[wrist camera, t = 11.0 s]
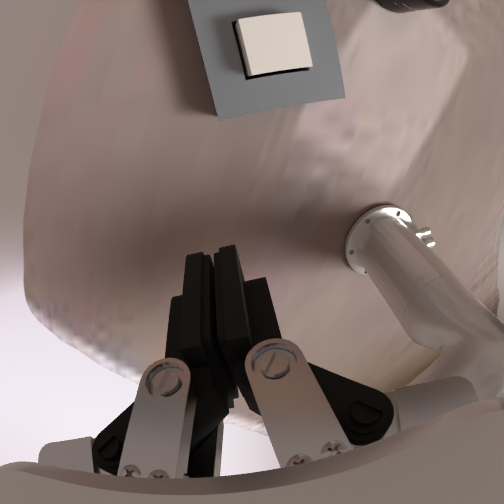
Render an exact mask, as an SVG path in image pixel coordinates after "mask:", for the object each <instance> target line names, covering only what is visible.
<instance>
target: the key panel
mask: <svg viewBox="0 0 504 504" xmlns="http://www.w3.org/2000/svg"><path fill="white" fill-rule="evenodd" d="M188 3H189V7H190V11H191V15H192V19H193V22H194V26H195V30H196V34H197V38H198V42H199V46H200V50H201V54H202V57H203V61H204V65H205V69H206V73H207V77H208V81H209V85H210V88H211V92H212V96H213V100H214V104H215V108H216V112H217V116H218V120H219V121H220V120H224V119H228V118H232V117H236V116H241V115H245V114H250V113H254V112H259V111H264V110H269V109H274V108H280V107H285V106H291V105H297V104H303V103H310V102H317V101H325V100H333V99H342V98H345V92H344V85H343V79H342V73H341V67H340V62H339V57H338V51H337V46H336V42H335V37H334V32H333V28H332V23H331V19H330V15H329V11H328V7H327V3H326V0H188ZM293 12H301V15H302V19H303V23H304V28H305V32H306V36H307V41H308V45H309V50H310V55H311V59H312V64H313V66H312V67H303V68H298V70H299V71H297V72H289V73H283V74H276V75H270V76H264V77H259V78H253V79H248V80H245V75H244V71H243V67H242V63H241V59H240V55H239V51H238V47H237V42H236V38H235V35H234V31H233V28H234V27H235V25H236V23H237V21H238V19H243V18H249V17H256V16H263V15H271V14H281V13H293Z"/></svg>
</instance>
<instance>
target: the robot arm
mask: <svg viewBox="0 0 504 504" xmlns="http://www.w3.org/2000/svg"><path fill="white" fill-rule="evenodd" d="M430 233H431V232H430V228H429V227H425V228H422V229H419V230H418V229H416V228H415V227H414V226H413V223H412V220H411V218H410V216H409V215H408V214H407V213H406V212H405V211H404V210H403V209H401V208H400V207H398V206H394V205H381V206H377V207H375V208H373V209H371V210H369V211H367V212H366V213H364V214H363V215H362V216H361V217H360V218H359V219H358V220H357V221H356V222H355V224H354V225H353V226H352V228H351V230H350V231H349V234H348V236H347V238H346V243H345V256H346V259H347V261H348V263H349V265H350V266H351V268H352V269H353V270H355V271H356V272H358V273H359V274H362V275H369V276H370V278H371V279H372V281H373V282H374V284H375V285H376V287H377V288H378V290H379V291H380V293H381V294H382V296H383V297H384V299H385V300H386V302H387V303H388V305H389V306H390V308H391V309H392V311H393V312H394V314H395V316H396V317H397V319H398V320H399V322H400V323H401V325H402V327H403V328H404V330H405V331H406V333H407V334H408V336H409V337H410V338H411V339H412V340H413V341H414V342H416V343H417V344H419V345H422V346H424V347H429V348H435V349H443V351H442V354H441V355H440V356H439V357H438V358H437V359H436V360H435V361H434V362H433V364H432V365H431V366H429V367H428V368H427V369H426V370H425V371H424V372H422V373H421V374H420V375H419V376H418V377H416V378H415V379H414V380H413V381H412V382H410V383H409V384H408V385H407V386H405V387H399V388H395V389H394V391H391V392H385V393H382V392H380V391H378V390H376V389H373V388H371V387H368V386H365V385H363V384H360V383H358V382H355V381H352V380H350V379H347V378H345V377H342V376H340V375H337V374H335V373H332V372H330V371H328V370H325V369H323V368H320V367H318V366H316V365H313V364H311V363H309V362H307V361H306V359H305V357H304V355H303V353H302V351H301V350H300V349H299V347H298V346H297V345H296V344H294V343H293V342H291V341H289V340H285V339H282V337H281V333H280V330H279V326H278V322H277V318H276V314H275V311H274V307H273V303H272V299H271V295H270V292H269V288H268V284H267V280H266V277H263V278H259V279H254V280H250V281H245V280H244V276H243V273H242V269H241V265H240V261H239V257H238V253H237V249H236V246H235V244H234V245H230V246H225V247H221V248H219V252H218V253H214V266H213V263H212V260H211V257H210V255H205V256H204V253H203V252H199V253H195V254H191V255H187V256H186V263H185V273H184V283H183V294H182V295H180V296H175V297H173V298H172V300H171V306H170V314H169V323H168V332H167V342H166V352H165V358H164V359H161V360H158V361H156V362H154V363H153V364H151V365H150V366H149V367H148V368H147V369H146V370H145V371H144V373H143V375H142V378H141V380H140V384H139V387H138V391H137V395H136V398H135V401H134V402H133V403H132V404H131V405H130V406H129V407H128V408H127V409H126V410H125V411H123V412H122V413H121V414H120V415H119V416H118V417H117V418H116V419H115V420H114V421H113V422H111V424H109V425H108V426H107V427H106V428H105V429H104V430H103V431H101V433H99V434H98V436H97V437H96V438H94V439H93V438H92V437H85V438H79V439H73V440H67V441H60V442H53V443H49V444H46V445H45V446H44V447H43V448H42V449H41V451H40V453H39V458H38V459H39V460H38V463H35V462H14V463H9V464H6V465H3V466H1V467H0V504H504V323H502V322H501V321H500V320H499V319H498V318H497V317H496V316H495V315H494V314H492V313H491V312H490V311H489V310H488V309H487V308H486V307H485V306H484V305H483V304H482V303H481V302H480V301H479V300H478V299H477V297H476V296H475V295H474V294H473V293H472V292H471V291H470V290H469V289H468V288H467V287H466V286H465V285H464V283H463V282H462V281H461V280H460V279H459V278H458V277H457V276H456V275H455V274H454V273H453V272H452V271H451V270H450V269H449V267H448V266H447V265H446V264H445V263H444V262H443V261H442V260H441V259H440V258H439V257H438V256H437V255H436V254H435V253H434V252H433V251H432V250H431V248H433V247H434V246H435V241H434V239H433V238H432V237H428V238H424V239H422V240H421V239H420V237H424V236H428V235H430ZM237 385H238V386H237ZM238 387H239V389H240V391H241V394H242V396H243V397H244V398H245V400H246V402H247V405H248V407H249V409H250V410H252V411H253V412H255V413H257V414H258V415H260V416H262V419H263V422H264V424H265V427H266V430H267V433H268V435H269V438H270V441H271V443H272V446H273V448H274V451H275V454H276V457H277V459H278V461H279V464H280V467H281V468H278V469H273V470H267V471H261V472H254V473H247V474H239V475H231V476H220V467H221V454H222V440H223V428H224V424H223V419H224V418H225V417H226V416H227V415H228V414H229V408H234V402H233V399H235V398H238V397H239V395H238Z"/></svg>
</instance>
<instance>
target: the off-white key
mask: <svg viewBox="0 0 504 504" xmlns="http://www.w3.org/2000/svg"><path fill="white" fill-rule="evenodd" d="M234 30H235V34H236V38H237V42H238V46H239V50H240V55H241V59H242V63H243V67H244V71H245V75H246V77H247V76H252V75H257V74H263V73H268V72H274V71H281V70H288V69H295V68H303V67H312V66H313V64H312V59H311V55H310V50H309V45H308V41H307V36H306V32H305V28H304V23H303V19H302V15H301V12H293V13H281V14H271V15H263V16H256V17H249V18H243V19H238V21H237V23H236V25H235V28H234Z"/></svg>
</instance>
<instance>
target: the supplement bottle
mask: <svg viewBox="0 0 504 504" xmlns="http://www.w3.org/2000/svg"><path fill="white" fill-rule="evenodd" d="M377 1H378V2H379V3H380V4H381V5H382V6H383V7H385V8H386V9H388V10H390V11H392V12H396V13H406V12H412V11H418V10H425V9H433V8H440V7H444V6H445V5H447V4H448V2H449V0H377Z"/></svg>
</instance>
